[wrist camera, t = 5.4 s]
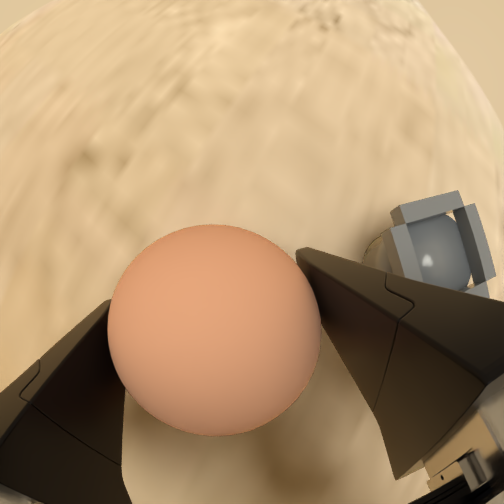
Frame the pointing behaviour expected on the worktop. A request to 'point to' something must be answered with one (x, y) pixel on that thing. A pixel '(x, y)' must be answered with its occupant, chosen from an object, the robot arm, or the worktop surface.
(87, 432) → the robot arm
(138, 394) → the peach ball
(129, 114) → the worktop surface
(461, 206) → the slate cup
